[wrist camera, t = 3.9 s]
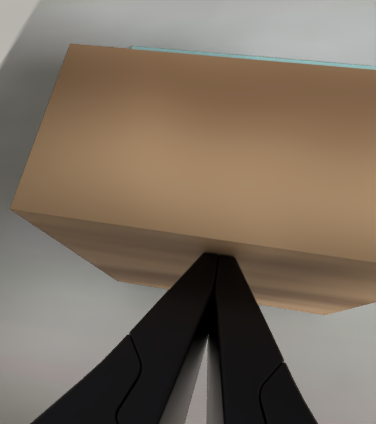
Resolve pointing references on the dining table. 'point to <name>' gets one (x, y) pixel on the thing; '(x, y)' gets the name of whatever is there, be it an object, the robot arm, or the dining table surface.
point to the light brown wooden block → (211, 171)
